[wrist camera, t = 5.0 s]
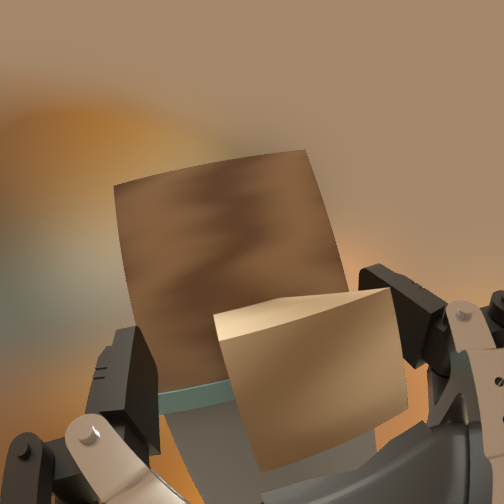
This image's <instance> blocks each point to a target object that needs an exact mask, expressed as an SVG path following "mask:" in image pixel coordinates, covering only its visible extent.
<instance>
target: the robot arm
mask: <svg viewBox="0 0 504 504" xmlns="http://www.w3.org/2000/svg"><path fill="white" fill-rule="evenodd" d="M389 287H390V291H391V295H392V300H393V304H394V309H395V314H396V319H397V324H398V330H399V336H400V342H401V348H402V355H403V358H404V359H405V360H406V361H407V362H408V363H409V364H410V365H411V366H412V367H413V368H414V369H417V368H418V367H420V366H421V365H423V364H424V363H427V364H428V365H429V366H428V369H427V381H428V398H429V415H428V420H427V423H426V424H425V423H424V422H423V421H420V422H419V423H418V424H416V425H414V426H413V427H411V428H410V429H408V430H407V431H405V432H404V433H402V434H400V435H399V436H397V437H395V438H394V439H392V440H390V441H389V442H388V443H387V444H386V445H385V446H384V447H383V448H382V449H381V450H379V452H377V453H376V454H375V455H374V456H373V457H371V458H370V459H369V460H368V461H367V462H366V463H364V464H363V465H362V466H361V467H359V468H358V469H356V470H353V471H349V472H345V473H340V474H336V475H330V476H325V477H319V478H313V479H307V480H304V481H301V482H298V483H295V484H292V485H289V486H286V487H283V488H279V489H276V490H272V491H269V492H265V493H261V496H262V499H263V501H264V502H262V503H260V504H504V291H502V290H500V291H496V292H494V293H493V294H492V297H491V301H490V304H489V306H486V307H483V308H478V307H477V306H476V305H474V304H472V303H470V302H467V301H454V302H451V303H450V304H448V303H446V302H445V301H443V300H442V299H440V298H439V297H437V296H436V295H434V294H433V293H431V292H430V291H428V290H426V289H425V288H422V286H420V285H419V284H417V283H414V281H412V280H410V279H409V278H408V277H406V276H404V275H401V274H397V273H395V272H393V271H391V270H390V269H388V268H386V267H385V266H383V265H381V264H375V265H372V266H369V267H366V268H363V269H361V270H360V273H359V288H358V291H363V290H372V289H381V288H389ZM95 369H96V371H95V372H94V375H93V381H92V384H91V388H90V392H89V396H88V401H87V405H86V410H85V415H82V416H80V417H78V418H77V419H75V420H74V421H73V422H72V423H71V424H70V425H69V427H68V429H67V431H66V434H65V437H62V438H59V439H56V440H52V441H49V442H45V443H44V442H43V441H42V440H41V439H40V438H39V437H38V436H37V435H35V434H34V433H29V432H25V433H22V434H20V435H18V436H17V437H16V438H15V439H14V440H13V441H12V443H11V444H10V447H9V450H8V454H7V459H6V464H5V470H4V476H3V482H2V489H1V496H0V504H51V495H52V496H54V497H55V504H99V502H98V500H101V501H102V504H191V503H189V502H188V501H187V500H186V499H185V498H183V497H182V496H181V495H180V494H179V493H177V492H176V491H175V490H174V489H173V488H172V487H171V486H169V485H168V484H167V483H166V482H165V481H164V480H163V479H162V478H161V477H160V476H159V475H158V474H157V473H156V472H155V471H154V470H153V469H151V467H150V466H149V456H152V455H160V454H161V452H160V437H159V408H158V371H157V367H156V363H155V361H154V358H153V356H152V354H151V352H150V350H149V347H148V345H147V343H146V341H145V338H144V336H143V334H142V332H141V330H140V328H139V327H138V326H134V327H128V328H123V329H118V330H116V333H115V337H114V341H113V344H112V346H107V347H106V348H105V349H104V350H103V352H102V353H101V354H100V356H99V357H98V360H97V364H96V368H95Z"/></svg>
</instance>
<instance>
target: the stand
mask: <svg viewBox="0 0 504 504" xmlns="http://www.w3.org/2000/svg"><path fill="white" fill-rule="evenodd" d="M158 408H159V415H161V414H164V416H165V418H166V421H167V424H168V426H169V429H170V431H171V434H172V436H173V438H174V441H175V443H176V445H177V448H178V450H179V452H180V455H181V457H182V459H183V461H184V463H185V465H186V467H187V470H188V472H189V474H190V476H191V478H192V480H193V482H194V484H195V486H196V488H197V490H198V491H199V493H200V495H201V497H202V499H203V501H204V503H205V504H260V503H262V502H264V501H263V499H262V496H261V493H265V492H269V491H272V490H276V489H279V488H283V487H286V486H289V485H292V484H295V483H298V482H301V481H304V480H307V479H313V478H319V477H325V476H330V475H336V474H340V473H345V472H349V471H353V470H356V469H358V468H359V467H361V466H362V465H363V464H364V463H366V462H367V461H368V460H369V459H370V458H371V457H373V456H374V455H375V454H376V453H377V450H376V441H375V432H374V428H373V429H371V430H369V431H368V432H366V433H364V434H362V435H360V436H358V437H355V438H353V439H351V440H349V441H347V442H345V443H343V444H340V445H338V446H336V447H333V448H331V449H329V450H326V451H324V452H321V453H319V454H316V455H314V456H311V457H308V458H306V459H303V460H300V461H297V462H294V463H291V464H288V465H285V466H282V467H279V468H275V469H272V470H269V471H265V472H261V473H260V470H259V467H258V465H257V462H256V459H255V456H254V453H253V450H252V448H251V445H250V442H249V439H248V436H247V433H246V430H245V427H244V424H243V421H242V418H241V414H240V411H239V408H238V405H237V402H236V399H235V395H234V392H233V389H232V385H231V382H230V379H227V380H223V381H218V382H214V383H210V384H205V385H201V386H196V387H191V388H186V389H181V390H176V391H170V392H164V393H158Z"/></svg>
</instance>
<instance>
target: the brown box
mask: <svg viewBox="0 0 504 504" xmlns="http://www.w3.org/2000/svg"><path fill="white" fill-rule="evenodd" d="M114 196H115V207H116V216H117V225H118V232H119V240H120V247H121V253H122V259H123V265H124V271H125V276H126V282H127V286H128V291H129V296H130V301H131V306H132V310H133V314H134V319H135V322H136V326H138V327H139V328H140V330H141V332H142V334H143V336H144V338H145V341H146V343H147V345H148V347H149V350H150V352H151V354H152V356H153V358H154V361H155V363H156V367H157V371H158V393H164V392H170V391H176V390H181V389H186V388H191V387H196V386H201V385H205V384H210V383H214V382H218V381H223V380H227V379H230V382H231V385H232V389H233V392H234V395H235V399H236V402H237V405H238V408H239V411H240V414H241V418H242V421H243V424H244V427H245V430H246V433H247V436H248V439H249V442H250V445H251V448H252V450H253V453H254V456H255V459H256V462H257V465H258V467H259V470H260V473H261V472H265V471H269V470H272V469H275V468H279V467H282V466H285V465H288V464H291V463H294V462H297V461H300V460H303V459H306V458H308V457H311V456H314V455H316V454H319V453H321V452H324V451H326V450H329V449H331V448H333V447H336V446H338V445H340V444H343V443H345V442H347V441H349V440H351V439H353V438H355V437H358V436H360V435H362V434H364V433H366V432H368V431H369V430H371V429H373V428H375V427H377V426H379V425H381V424H383V423H384V422H386V421H388V420H390V419H391V418H393V417H395V416H397V415H398V414H400V413H402V412H403V411H405V410H407V409H408V397H407V387H406V378H405V369H404V362H403V355H402V348H401V342H400V336H399V330H398V324H397V319H396V314H395V309H394V304H393V300H392V295H391V291H390V287H389V288H381V289H372V290H363V291H354V292H349V290H348V286H347V282H346V278H345V274H344V270H343V266H342V263H341V259H340V255H339V252H338V249H337V245H336V241H335V238H334V235H333V231H332V228H331V225H330V221H329V218H328V215H327V212H326V209H325V205H324V202H323V200H322V196H321V193H320V190H319V187H318V184H317V181H316V179H315V176H314V173H313V170H312V167H311V165H310V162H309V159H308V156H307V154H306V151H305V150H297V151H289V152H280V153H272V154H264V155H257V156H251V157H244V158H238V159H232V160H226V161H220V162H215V163H209V164H204V165H199V166H194V167H189V168H184V169H180V170H175V171H170V172H166V173H161V174H157V175H153V176H149V177H145V178H141V179H137V180H133V181H129V182H126V183H122V184H119V185H115V186H114Z"/></svg>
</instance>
